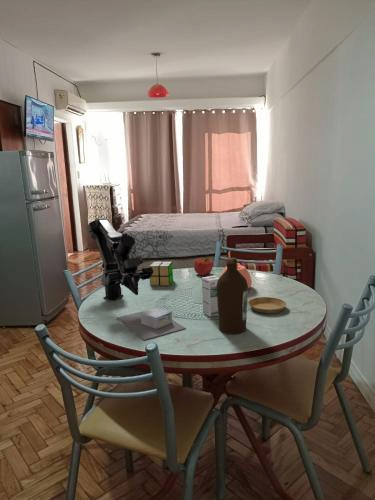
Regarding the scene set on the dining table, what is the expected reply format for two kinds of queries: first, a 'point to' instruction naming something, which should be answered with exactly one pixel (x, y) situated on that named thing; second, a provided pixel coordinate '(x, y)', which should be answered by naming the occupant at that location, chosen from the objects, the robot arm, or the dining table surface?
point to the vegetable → (203, 266)
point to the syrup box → (210, 295)
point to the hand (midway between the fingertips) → (137, 294)
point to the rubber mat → (145, 331)
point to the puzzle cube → (161, 273)
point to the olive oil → (232, 299)
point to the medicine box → (156, 317)
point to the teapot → (243, 272)
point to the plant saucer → (267, 304)
